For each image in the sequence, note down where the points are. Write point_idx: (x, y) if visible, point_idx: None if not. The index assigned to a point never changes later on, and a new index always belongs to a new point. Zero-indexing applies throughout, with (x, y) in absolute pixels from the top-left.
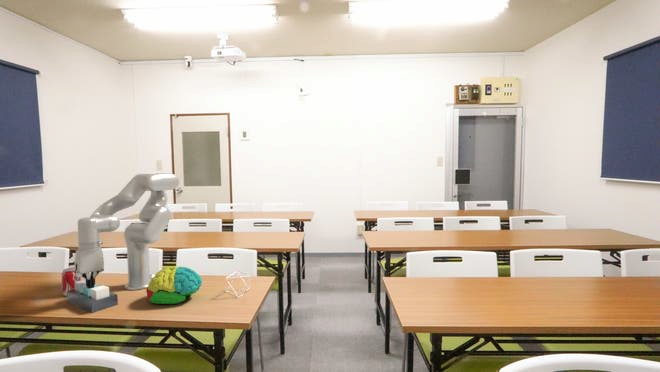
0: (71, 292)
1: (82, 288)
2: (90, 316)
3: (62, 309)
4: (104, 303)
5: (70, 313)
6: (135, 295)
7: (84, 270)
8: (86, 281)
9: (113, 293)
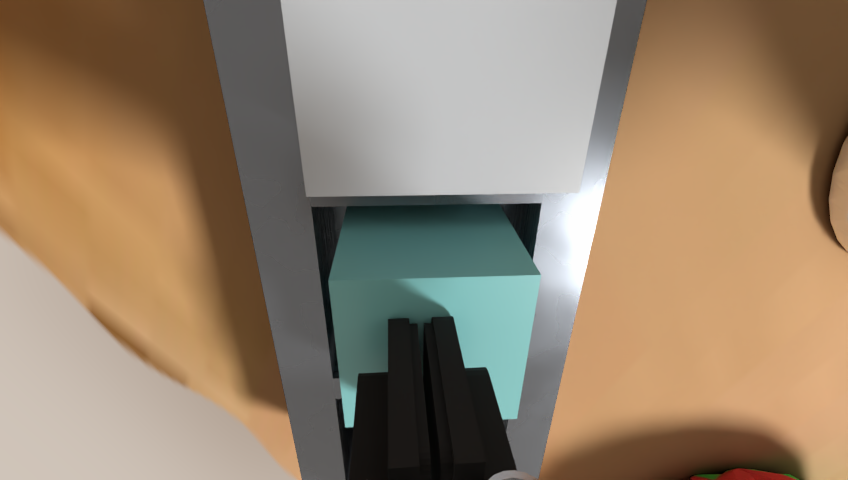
0: (224, 6)
1: (331, 271)
2: (297, 462)
3: (149, 160)
4: None
5: (200, 323)
6: (703, 351)
7: None
8: (357, 461)
9: (531, 468)
